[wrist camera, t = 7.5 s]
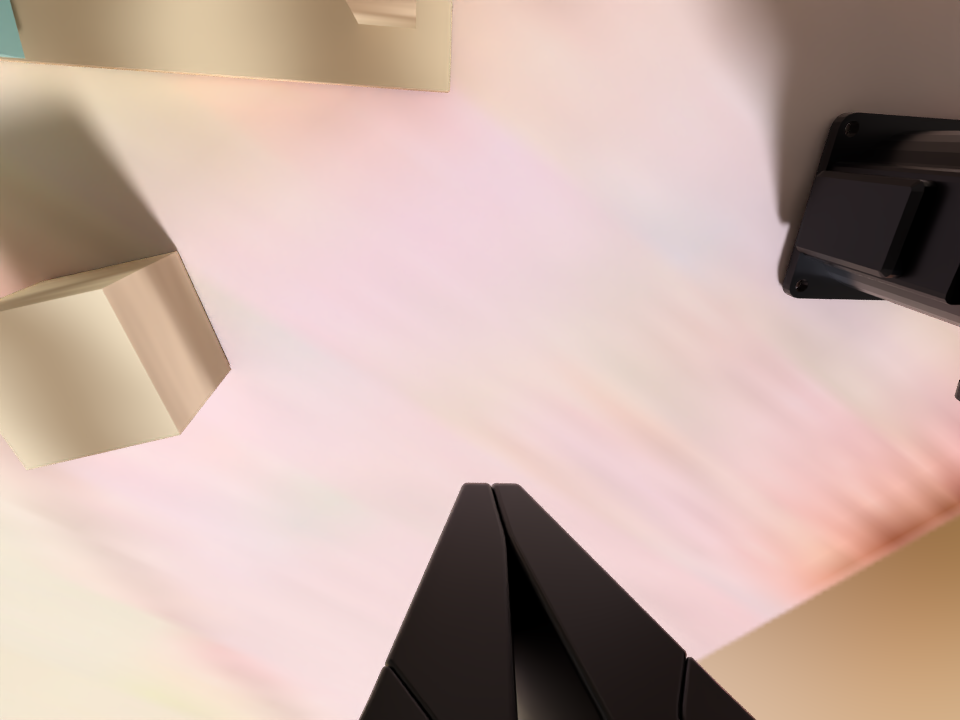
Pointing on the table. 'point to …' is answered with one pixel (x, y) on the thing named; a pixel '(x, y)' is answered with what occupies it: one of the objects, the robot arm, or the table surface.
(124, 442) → the maple cube
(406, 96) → the table surface
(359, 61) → the rail
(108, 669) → the table surface
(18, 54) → the bead
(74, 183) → the table surface
